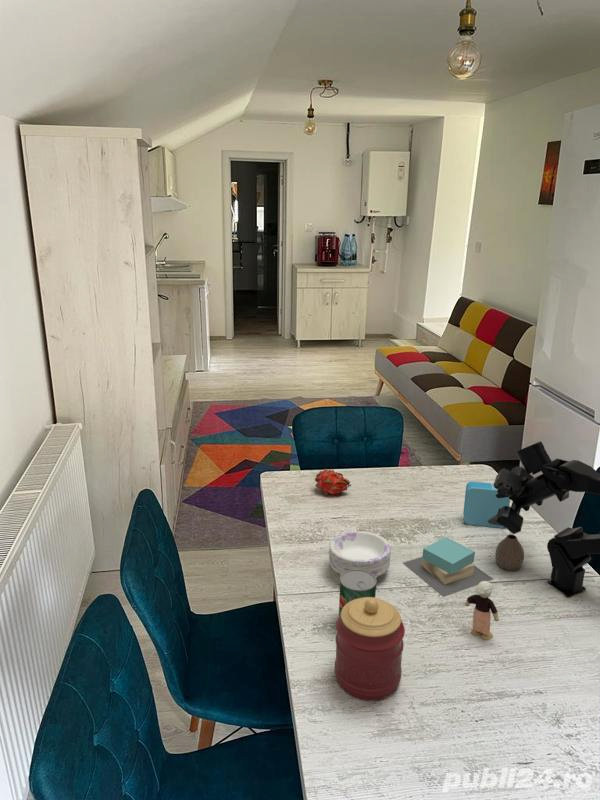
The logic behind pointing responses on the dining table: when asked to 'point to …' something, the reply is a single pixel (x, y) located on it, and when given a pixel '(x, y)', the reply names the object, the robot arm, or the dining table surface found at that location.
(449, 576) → the beech block
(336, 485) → the dragon fruit
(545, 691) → the dining table surface
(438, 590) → the charcoal mat
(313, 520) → the dining table surface
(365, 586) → the canned tomato
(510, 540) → the vase
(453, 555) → the teal block
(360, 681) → the canister
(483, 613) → the grandmother figurine
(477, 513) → the light blue flat block
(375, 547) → the paper bowls
